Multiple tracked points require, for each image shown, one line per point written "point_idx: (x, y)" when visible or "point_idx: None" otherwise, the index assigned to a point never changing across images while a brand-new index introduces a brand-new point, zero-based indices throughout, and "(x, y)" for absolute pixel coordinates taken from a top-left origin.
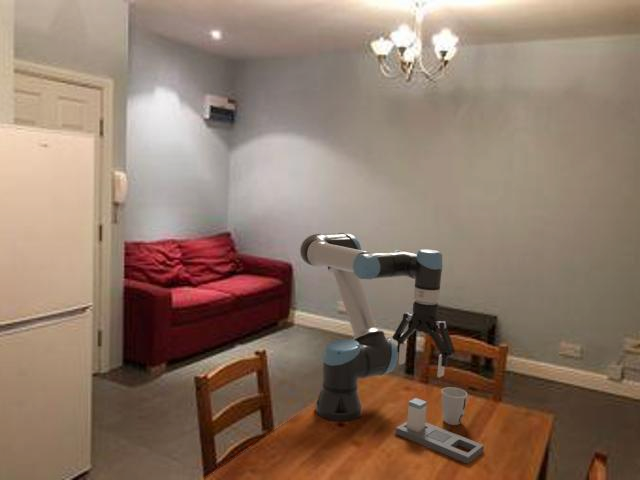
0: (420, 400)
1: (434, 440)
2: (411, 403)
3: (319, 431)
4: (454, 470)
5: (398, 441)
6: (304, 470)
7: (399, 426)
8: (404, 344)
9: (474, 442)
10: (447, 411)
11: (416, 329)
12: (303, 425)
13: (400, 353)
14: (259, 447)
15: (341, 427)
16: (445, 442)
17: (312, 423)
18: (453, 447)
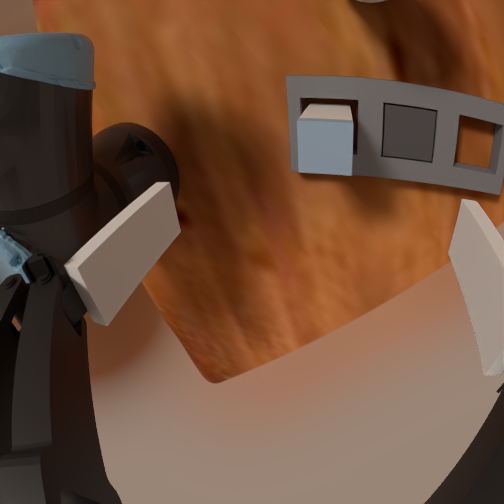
0: (325, 129)
1: (411, 166)
2: (311, 171)
3: (184, 265)
4: None
5: (323, 194)
6: (265, 355)
7: (293, 158)
8: (96, 290)
9: (494, 108)
10: (368, 1)
11: (53, 453)
12: None
13: (140, 275)
14: (183, 340)
15: (192, 227)
16: (438, 157)
17: None
18: (462, 171)
